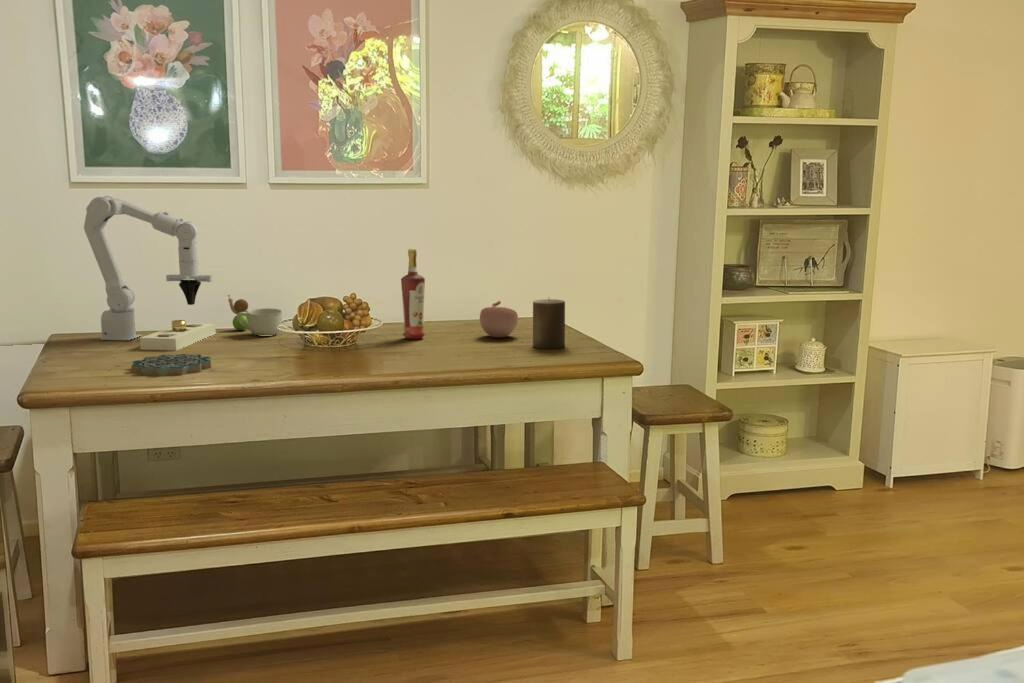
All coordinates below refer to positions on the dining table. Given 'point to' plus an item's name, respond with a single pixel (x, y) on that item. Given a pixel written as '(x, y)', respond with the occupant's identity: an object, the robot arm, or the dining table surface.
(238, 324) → the snail figurine
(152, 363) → the decorative tile
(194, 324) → the knob far
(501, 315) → the pink decorative apple
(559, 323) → the pillar candle
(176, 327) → the knob brass
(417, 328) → the liquor
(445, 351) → the dining table surface
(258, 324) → the teacup
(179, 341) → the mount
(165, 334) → the knob near
